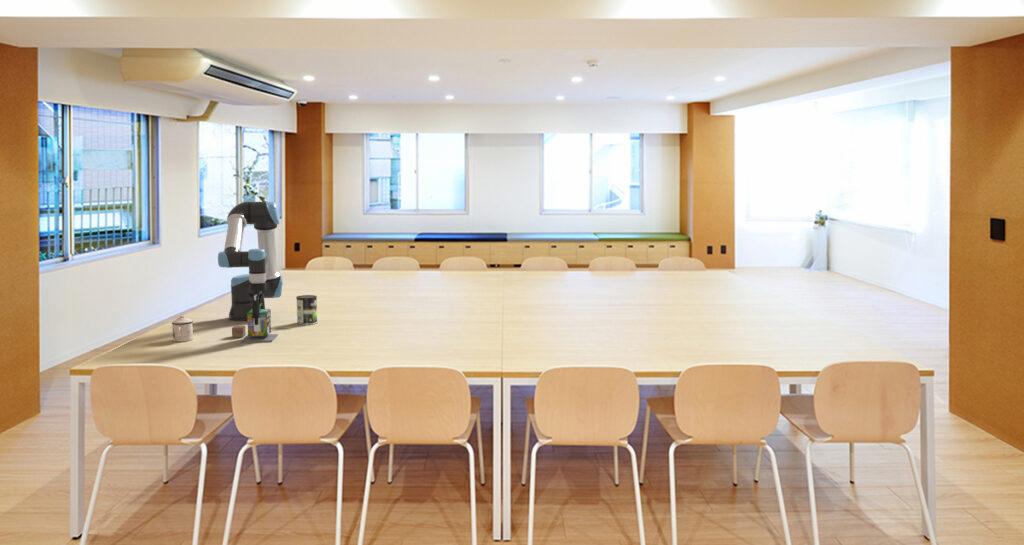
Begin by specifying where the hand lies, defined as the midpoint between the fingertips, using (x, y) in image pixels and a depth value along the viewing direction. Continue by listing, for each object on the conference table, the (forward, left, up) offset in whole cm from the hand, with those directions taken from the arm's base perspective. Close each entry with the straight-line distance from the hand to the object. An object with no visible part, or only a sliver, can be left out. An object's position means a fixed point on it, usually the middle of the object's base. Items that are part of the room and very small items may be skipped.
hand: (259, 329), depth 370 cm
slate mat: (0, 0, -5) cm, 5 cm away
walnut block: (-6, -11, -5) cm, 13 cm away
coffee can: (-38, +16, -5) cm, 41 cm away
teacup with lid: (+1, -35, -5) cm, 35 cm away
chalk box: (0, 0, -3) cm, 3 cm away
